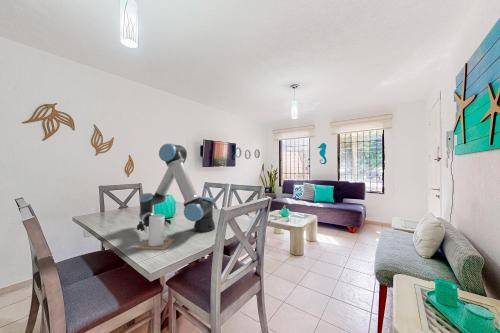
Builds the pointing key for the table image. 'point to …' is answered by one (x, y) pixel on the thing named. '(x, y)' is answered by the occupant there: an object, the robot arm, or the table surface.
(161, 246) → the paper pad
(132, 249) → the table surface
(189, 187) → the robot arm
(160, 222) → the cup
